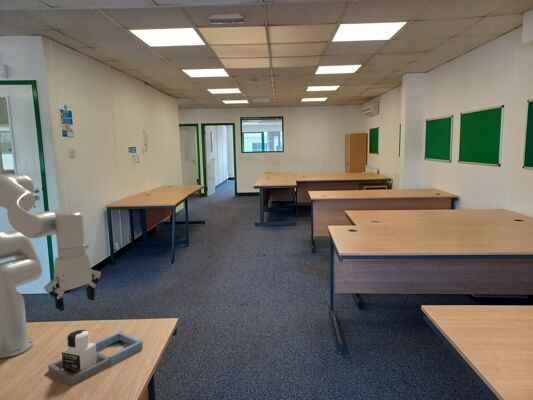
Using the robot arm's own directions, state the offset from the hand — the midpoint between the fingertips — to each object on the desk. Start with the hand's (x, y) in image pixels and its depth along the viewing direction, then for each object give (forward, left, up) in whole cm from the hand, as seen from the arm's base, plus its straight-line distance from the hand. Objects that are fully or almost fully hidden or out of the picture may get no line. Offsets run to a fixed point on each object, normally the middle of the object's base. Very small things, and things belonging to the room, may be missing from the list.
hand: (76, 304), depth 115 cm
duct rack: (0, +6, -22) cm, 22 cm away
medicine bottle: (0, 0, -22) cm, 22 cm away
